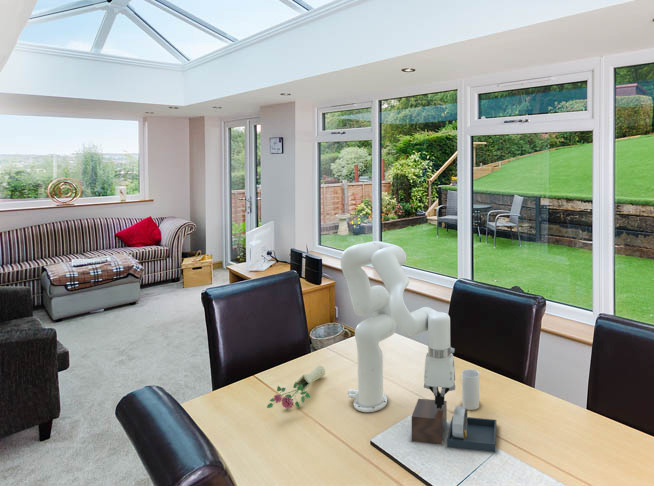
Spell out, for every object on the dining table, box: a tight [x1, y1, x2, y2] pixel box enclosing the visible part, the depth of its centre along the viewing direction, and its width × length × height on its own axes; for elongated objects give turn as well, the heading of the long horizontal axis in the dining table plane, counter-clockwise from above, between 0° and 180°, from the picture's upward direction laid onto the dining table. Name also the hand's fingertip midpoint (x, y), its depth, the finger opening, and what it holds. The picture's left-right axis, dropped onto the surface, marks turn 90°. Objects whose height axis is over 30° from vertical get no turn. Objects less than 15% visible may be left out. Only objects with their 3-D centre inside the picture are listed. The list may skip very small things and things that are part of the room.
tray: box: [446, 415, 498, 453], centre depth 141 cm, size 15×13×2 cm
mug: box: [461, 368, 480, 411], centre depth 161 cm, size 10×7×12 cm, turn 159°
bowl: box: [452, 405, 468, 440], centre depth 140 cm, size 9×9×4 cm
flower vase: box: [266, 365, 326, 411], centre depth 164 cm, size 12×12×35 cm
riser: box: [411, 398, 448, 445], centre depth 143 cm, size 10×11×8 cm
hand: (439, 406), depth 143 cm, fingers closed
